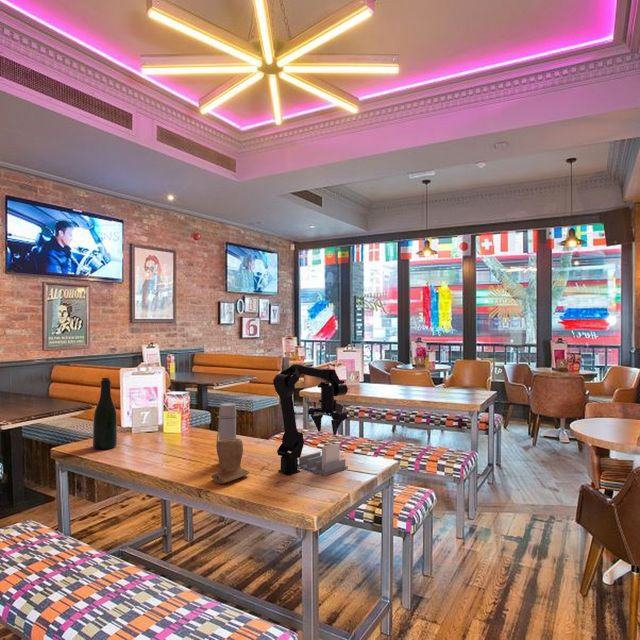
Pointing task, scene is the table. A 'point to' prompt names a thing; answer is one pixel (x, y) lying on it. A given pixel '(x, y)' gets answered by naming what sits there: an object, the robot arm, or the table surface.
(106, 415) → the dark wine bottle
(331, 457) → the beige upright tile
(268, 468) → the table surface
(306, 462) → the dish rack
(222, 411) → the water bottle
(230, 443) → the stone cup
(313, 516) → the table surface
